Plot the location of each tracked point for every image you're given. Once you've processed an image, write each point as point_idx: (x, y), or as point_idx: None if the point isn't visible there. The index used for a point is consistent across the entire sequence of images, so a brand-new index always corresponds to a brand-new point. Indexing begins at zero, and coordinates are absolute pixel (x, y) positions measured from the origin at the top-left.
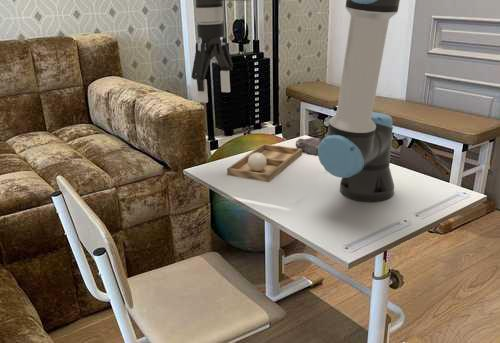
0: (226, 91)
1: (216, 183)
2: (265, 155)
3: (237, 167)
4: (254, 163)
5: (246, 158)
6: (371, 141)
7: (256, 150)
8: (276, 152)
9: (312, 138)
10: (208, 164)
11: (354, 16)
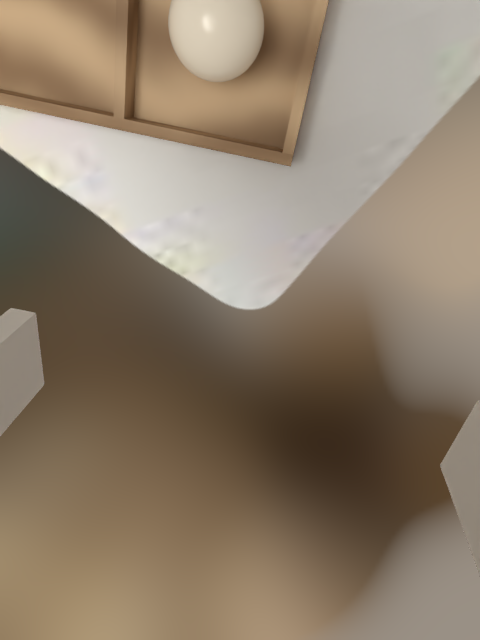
0: (35, 343)
1: (355, 184)
2: (34, 57)
3: (226, 138)
4: (262, 25)
5: (141, 121)
6: None
7: (42, 101)
8: None
9: None
10: (183, 273)
11: None
